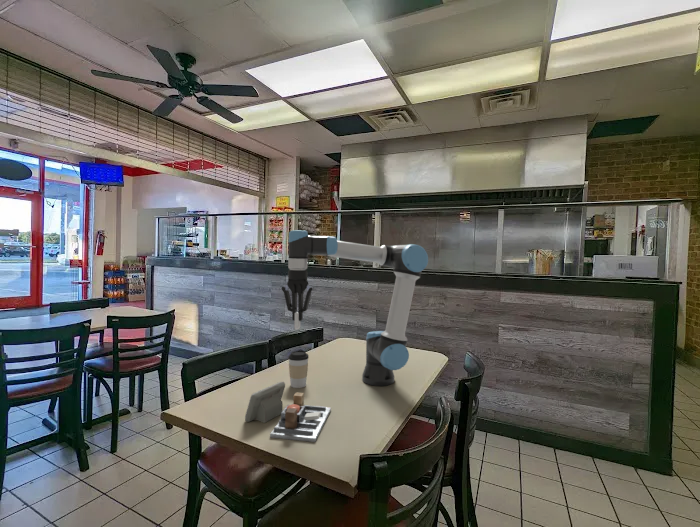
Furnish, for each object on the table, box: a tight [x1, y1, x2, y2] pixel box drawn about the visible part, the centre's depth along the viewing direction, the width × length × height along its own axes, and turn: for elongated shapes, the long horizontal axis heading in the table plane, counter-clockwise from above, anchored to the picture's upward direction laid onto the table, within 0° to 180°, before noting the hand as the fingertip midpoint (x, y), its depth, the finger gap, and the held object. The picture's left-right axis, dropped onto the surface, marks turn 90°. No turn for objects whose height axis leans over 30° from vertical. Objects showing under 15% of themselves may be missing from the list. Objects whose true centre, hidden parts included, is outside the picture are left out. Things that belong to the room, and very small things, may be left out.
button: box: [286, 403, 300, 413], centre depth 120 cm, size 4×4×3 cm
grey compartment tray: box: [269, 404, 332, 443], centre depth 119 cm, size 15×22×4 cm
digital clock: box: [244, 381, 286, 423], centre depth 124 cm, size 16×9×11 cm, turn 136°
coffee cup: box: [287, 349, 309, 389], centre depth 154 cm, size 9×9×15 cm
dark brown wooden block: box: [285, 408, 297, 429], centre depth 113 cm, size 3×3×6 cm
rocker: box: [304, 412, 321, 420], centre depth 119 cm, size 5×3×1 cm, turn 80°
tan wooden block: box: [292, 392, 305, 406], centre depth 126 cm, size 3×3×6 cm
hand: (297, 328), depth 136 cm, fingers closed
